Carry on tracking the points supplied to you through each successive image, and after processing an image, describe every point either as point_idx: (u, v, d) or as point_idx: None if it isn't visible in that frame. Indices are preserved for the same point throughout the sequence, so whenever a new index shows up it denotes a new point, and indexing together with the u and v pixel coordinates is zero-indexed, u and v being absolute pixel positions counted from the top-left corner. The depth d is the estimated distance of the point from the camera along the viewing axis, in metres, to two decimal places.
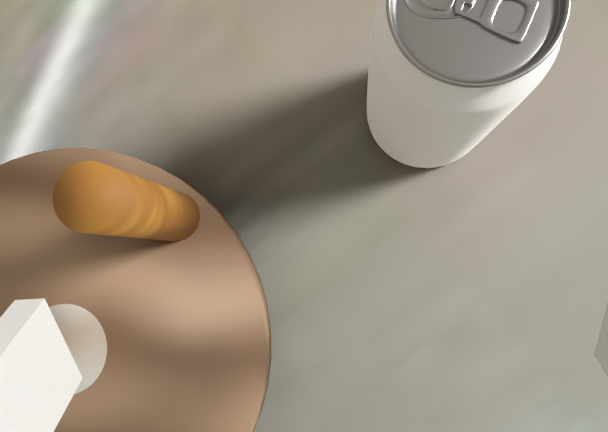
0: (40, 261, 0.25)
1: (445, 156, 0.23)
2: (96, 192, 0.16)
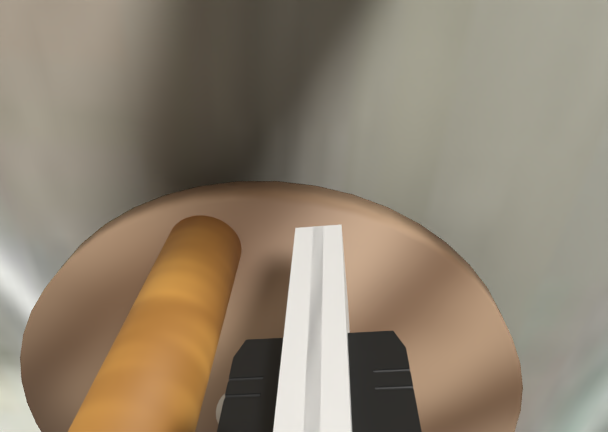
0: None
1: None
2: None
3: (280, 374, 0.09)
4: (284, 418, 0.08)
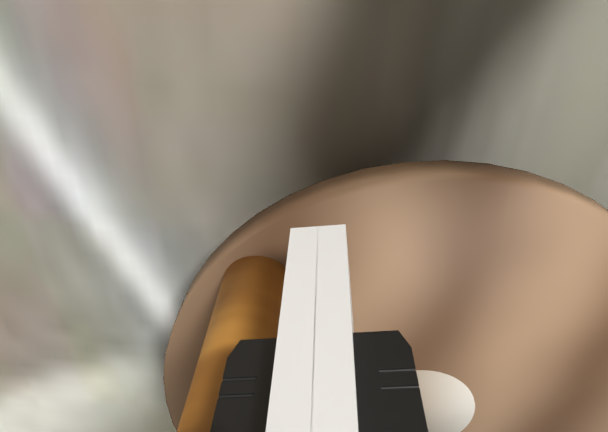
0: None
1: None
2: None
3: (273, 374, 0.09)
4: (276, 418, 0.08)
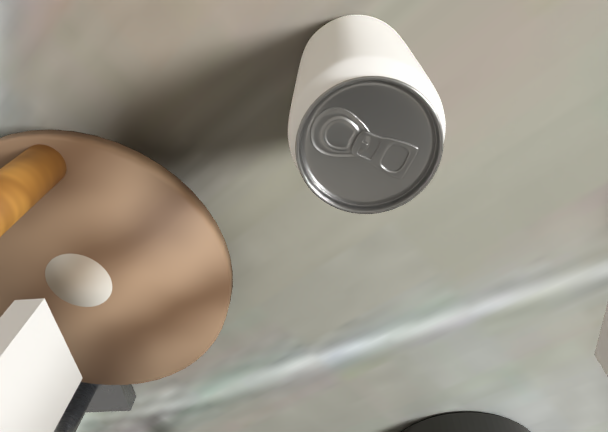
0: (11, 250, 0.32)
1: None
2: None
3: None
4: None
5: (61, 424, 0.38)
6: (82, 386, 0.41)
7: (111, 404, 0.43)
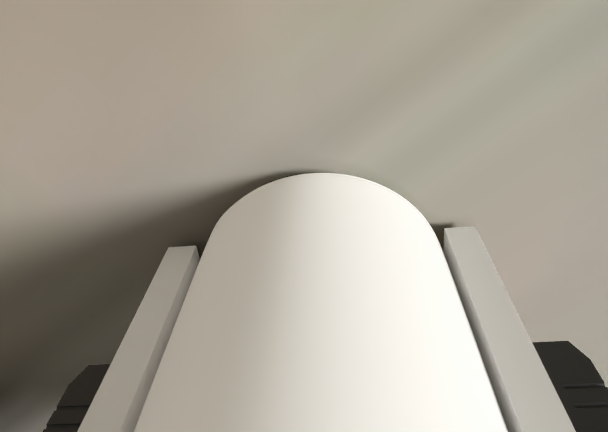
0: None
1: None
2: None
3: (90, 406, 0.09)
4: None
5: None
6: None
7: None
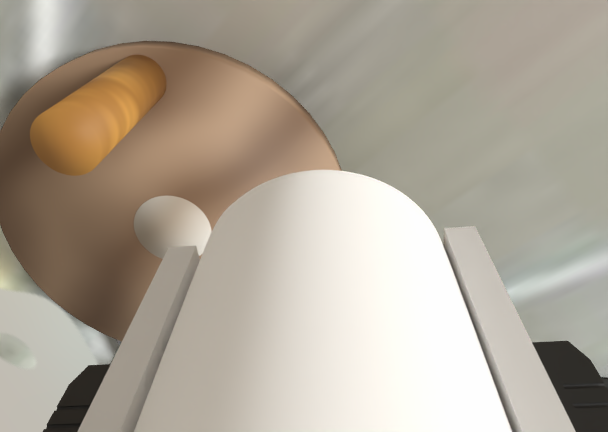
0: (95, 195, 0.27)
1: None
2: (68, 135, 0.17)
3: (90, 406, 0.09)
4: None
5: None
6: None
7: None
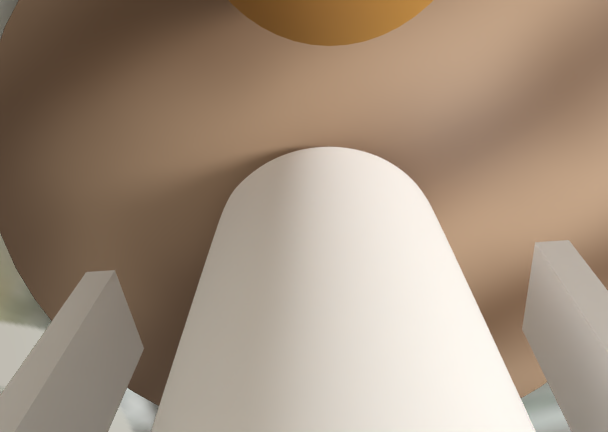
0: (186, 168, 0.14)
1: None
2: None
3: None
4: None
5: None
6: None
7: None
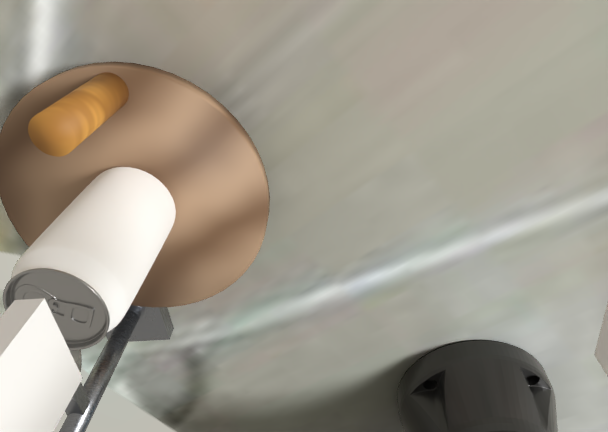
0: (74, 175, 0.36)
1: None
2: (53, 129, 0.25)
3: None
4: None
5: (111, 343, 0.42)
6: (127, 314, 0.45)
7: (152, 333, 0.47)
